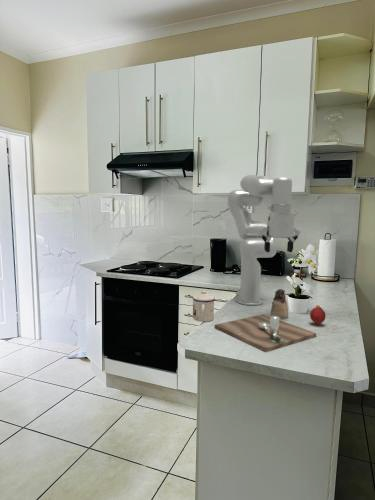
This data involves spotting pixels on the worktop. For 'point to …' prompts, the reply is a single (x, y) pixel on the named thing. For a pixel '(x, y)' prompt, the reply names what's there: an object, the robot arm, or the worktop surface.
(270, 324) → the dial lever
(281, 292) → the tan brown ceramic jug
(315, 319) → the onion
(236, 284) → the worktop surface
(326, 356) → the worktop surface
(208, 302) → the teacup with lid
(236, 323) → the wooden cutting board
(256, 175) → the robot arm
